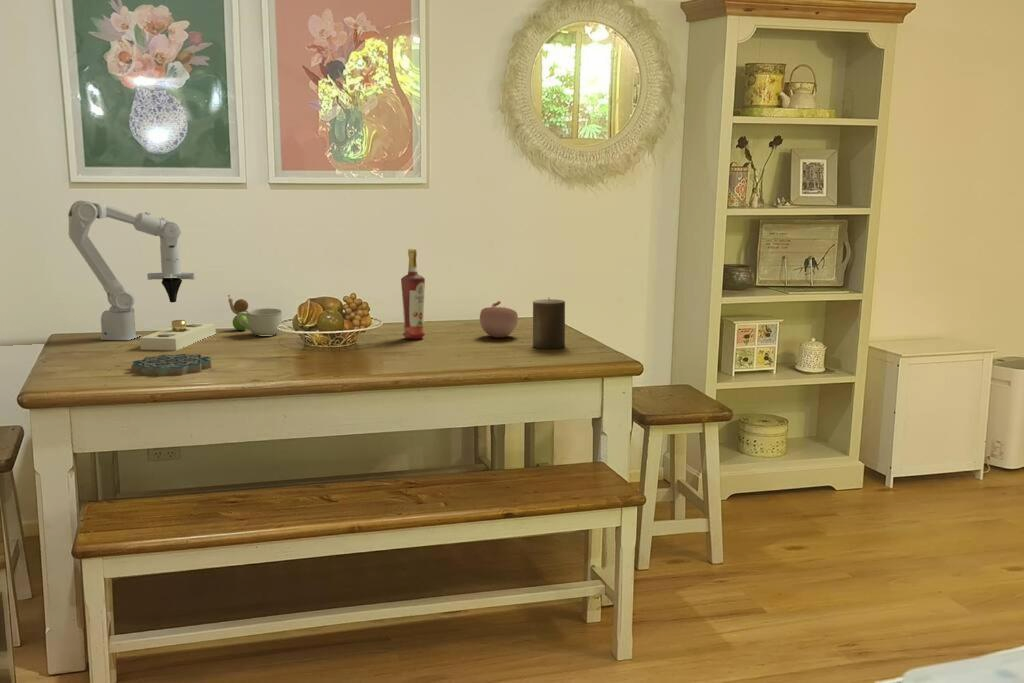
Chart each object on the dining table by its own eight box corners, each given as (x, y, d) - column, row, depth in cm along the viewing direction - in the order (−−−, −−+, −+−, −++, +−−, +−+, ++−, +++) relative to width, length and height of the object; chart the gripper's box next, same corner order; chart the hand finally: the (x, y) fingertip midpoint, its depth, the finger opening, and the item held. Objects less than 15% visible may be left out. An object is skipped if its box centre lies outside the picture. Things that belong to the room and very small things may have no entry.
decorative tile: (226, 369, 257) (225, 360, 257) (156, 381, 243) (155, 371, 242) (187, 359, 271) (186, 350, 270) (118, 370, 256) (118, 361, 256)
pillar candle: (562, 349, 283) (562, 299, 280) (529, 348, 285) (529, 298, 282) (567, 343, 292) (567, 295, 290) (535, 342, 294) (535, 294, 292)
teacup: (287, 332, 312) (286, 308, 310) (276, 338, 301) (275, 313, 300) (246, 331, 313) (245, 307, 312) (233, 337, 303) (232, 312, 301)
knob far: (184, 335, 302) (183, 325, 301) (189, 333, 306) (189, 323, 305) (196, 335, 301) (195, 326, 301) (201, 333, 305) (201, 324, 305)
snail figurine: (228, 330, 316) (226, 293, 314) (248, 328, 319) (246, 292, 317) (231, 332, 311) (229, 296, 309) (251, 331, 314) (249, 294, 312)
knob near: (156, 345, 284) (155, 335, 284) (162, 343, 288) (161, 333, 288) (168, 346, 284) (168, 335, 283) (175, 343, 288) (174, 333, 287)
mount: (140, 349, 283) (139, 337, 282) (183, 333, 309) (182, 323, 308) (176, 350, 281) (175, 338, 281) (215, 334, 308) (215, 323, 307)
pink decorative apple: (519, 334, 309) (519, 299, 307) (515, 341, 297) (515, 304, 295) (482, 333, 310) (482, 298, 308) (477, 340, 298) (477, 303, 296)
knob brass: (169, 331, 293) (169, 321, 292) (176, 329, 297) (175, 319, 296) (182, 331, 292) (181, 321, 292) (188, 329, 296) (187, 319, 296)
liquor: (414, 341, 296) (412, 250, 291) (397, 339, 300) (395, 249, 295) (430, 338, 302) (429, 249, 296) (413, 335, 306) (411, 247, 301)
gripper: (143, 260, 300) (145, 303, 303) (190, 260, 301) (192, 303, 303) (150, 258, 307) (153, 300, 310) (196, 258, 308) (198, 300, 310)
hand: (173, 302), depth 307 cm, fingers closed
